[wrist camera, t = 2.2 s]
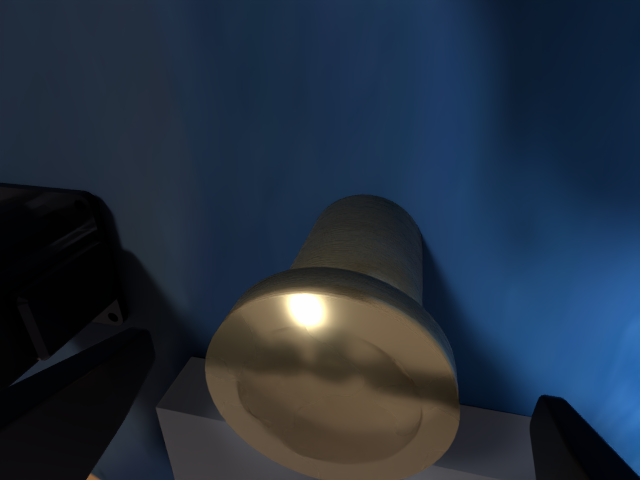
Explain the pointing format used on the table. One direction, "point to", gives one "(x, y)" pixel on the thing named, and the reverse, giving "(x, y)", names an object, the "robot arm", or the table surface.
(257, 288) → the brass fitting
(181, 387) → the flange socket
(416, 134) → the table surface
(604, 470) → the robot arm
